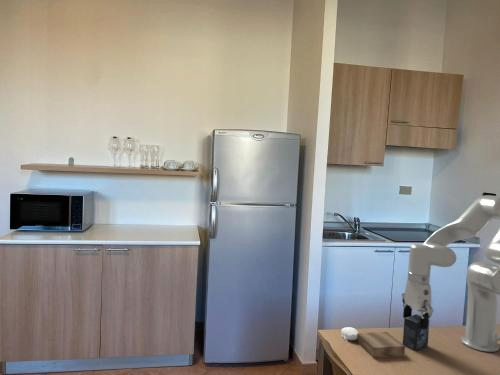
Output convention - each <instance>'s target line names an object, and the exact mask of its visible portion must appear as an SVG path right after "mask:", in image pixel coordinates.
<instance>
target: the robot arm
mask: <svg viewBox="0 0 500 375" xmlns="http://www.w3.org/2000/svg"><path fill="white" fill-rule="evenodd" d="M492 220H499V221H500V195H490V194H488V195H487V194H486V195H480V196H479V197H478V198H476V199H475V200H474V201H473V202H472V204H470V205H469V207H467V209H465V210H464V211H463V213H461V215H460V216H459V217H457V219H456V220H454V221H453V222H451V223H449V224H446V225H445V226H442V227H440V228H439V229H438V230H436V231H434V232H433V233H432V234H431V235H430V236H429V237H428V238H427V239H426V240H425V241H424V242H423V243H422V244H419V243H413V244H411V245H410V247H409V256H408V267H407V268H408V270H407V271H408V272H407V280H406V284H405V291H404V292H403V293H401V298H402V300H401V301H402V304H403V305H402V306H403V314H402V318H403V319H404V318H405V317H409V316H413V309H414V310H415V311H418V312H419V315H420V316H421V318H420V320H419V328H420V329H427V328H428V319H430V318H431V316H432V315H433V312H434V308H433V307H432V287H431V284H430V282H431V270H432V269H431V268H432V266H434V267H440V268H449V267H452V266H453V265H454V264H455V263H456V262H457V254H456V253H455V251H454V250H453V249H452V248H449V247H447V246H449V245H451V244H452V243H454V242H457V241H462V240H467V239H472V238H474V237H476V236H477V235H478V234H479V233H480V232H481V231H482V230H483V229H485V227H486V226H487V225H488V224H489V223H490V222H491V221H492ZM484 255H485V257H486V258H487V260H488V261H491V262H492V263H494V264H498V266H497V265H494V264H491V263H488V262H485V261H475V262H472V263H471V264H470V265H468V267H467V270H466V282H467V293H468V294H467V305H466V306H467V308H466V321H465V322H466V324H465V334H463V335H461V336H460V342H461V343H462V344H463V345H464V346H466V347H468V348H471V349H475V350H477V351H480V352H481V351H482V352H488V353H493V352H497V351H499V350H500V344H498V343H497V342H500V334H497V333H496V324H497V308H498V296H497V295H499V296H500V226H499V227H498V229H497V231H496V232H495V233H494V235H493V237H492V238H491V240H490V242H489V243H488V245H487V246H486V248H485V251H484Z"/></svg>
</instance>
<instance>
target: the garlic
mask: <svg viewBox="0 0 500 375" xmlns="http://www.w3.org/2000/svg"><path fill="white" fill-rule="evenodd" d="M358 333H360V332H359V331H358V330H357V329H356V328H354V327H351V326H348V327H347V326H346V327H343V328H341V331H340V335H341V337H342V338H343V340H344V341H345V342H347V343H348V341H357V334H358Z"/></svg>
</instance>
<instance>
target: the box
mask: <svg viewBox="0 0 500 375" xmlns="http://www.w3.org/2000/svg"><path fill="white" fill-rule="evenodd" d="M420 318H421V315H420V314H414V315H413V314H412V315H411V316H409V317H405V318H403V319H404V320H403V332H402V333H403V336H402V344H403V345H404V346H405V348H406V347H407V349H408V348H409V349H411V350H412V351H417V350H420V349H423V348H426V347H428V345H429V331H430V321H431V320H430V318H429V319H428V328H427V329H420V328H419V320H420Z"/></svg>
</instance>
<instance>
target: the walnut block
mask: <svg viewBox="0 0 500 375" xmlns="http://www.w3.org/2000/svg"><path fill="white" fill-rule="evenodd" d="M356 343H357V344H358V345H359V346H360V347H361V348H362V349H363V350H364V351H365V352H366V353H367V354H368V355H370V356H371V358H373V359H381V358H395V357H397V358H398V357H405V355H406V354H405V353H406V351H405V350H406V346H404V345H403V342H400V340H398V339H397V338H395V337H394V336H393V335H391V334H390V333H389V332H387V331H377V332H376V331H375V332H372V331H371V332H359V333H358V334H357V340H356Z"/></svg>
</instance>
